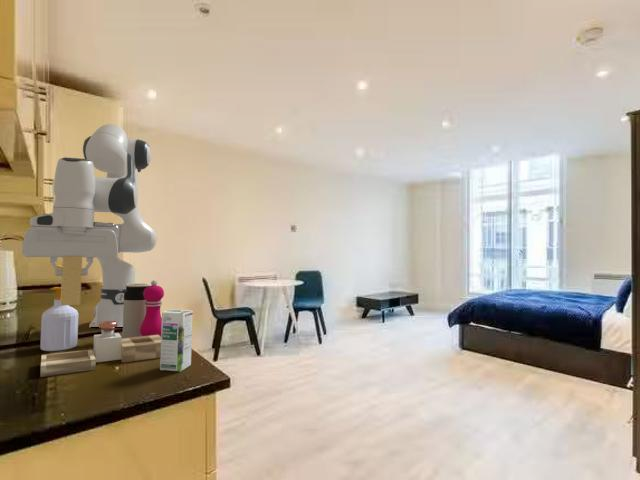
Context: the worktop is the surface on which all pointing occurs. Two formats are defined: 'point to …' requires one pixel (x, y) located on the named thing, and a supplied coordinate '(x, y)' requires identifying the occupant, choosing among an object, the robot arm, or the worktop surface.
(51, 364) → the shallow wooden tray
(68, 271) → the block
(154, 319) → the pepper mill
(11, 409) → the worktop surface
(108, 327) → the pin
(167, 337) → the syrup box
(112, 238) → the robot arm
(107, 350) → the pin guide
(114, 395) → the worktop surface
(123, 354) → the socket
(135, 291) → the travel mug
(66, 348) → the soap bottle
